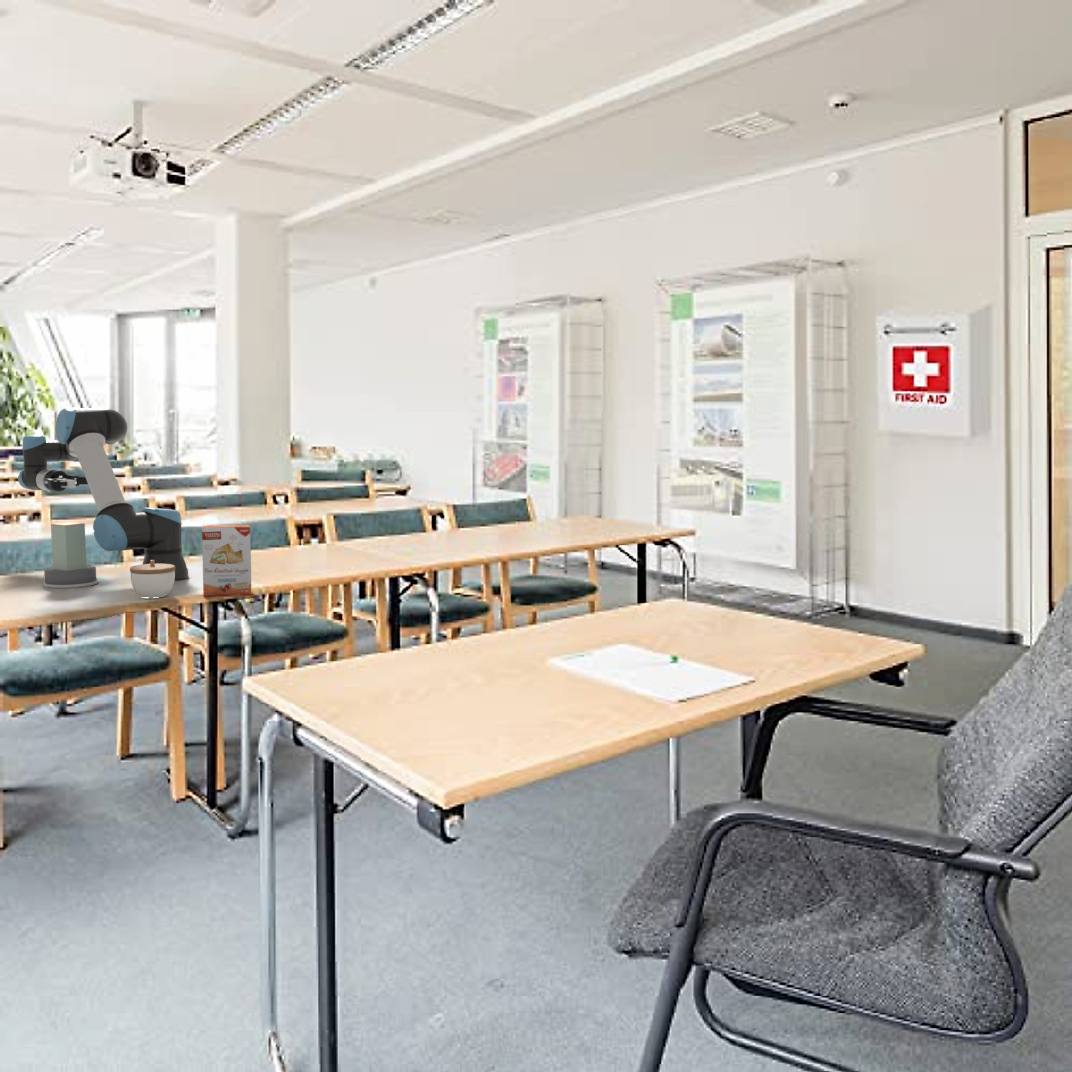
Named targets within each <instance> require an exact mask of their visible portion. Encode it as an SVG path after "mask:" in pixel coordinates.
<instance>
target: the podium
mask: <svg viewBox="0 0 1072 1072" xmlns="http://www.w3.org/2000/svg"><path fill="white" fill-rule="evenodd" d="M43 573H44V575H43V576H44V581H43V582H42V587H44V588H46V587H49V588H48V589H77V587H79V588H86V587H92V586H95V585H98V584H99V579H98V578H97V567H96V566H94V565H87V568H84V569H77V570H71V571H63V570H56V569H53V566H52V567H47V568H45V569H44V570H43Z"/></svg>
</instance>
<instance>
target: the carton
mask: <svg viewBox="0 0 1072 1072" xmlns="http://www.w3.org/2000/svg"><path fill="white" fill-rule="evenodd" d="M85 527H86V525H85V522H75V521H65V522H56V523H55V522H54V523H50V531H51V557H52V567H53V569H56V570H63V571H71V570H77V569H84V568H87V549H86V548H87V547H86V545H87V544H86V528H85Z"/></svg>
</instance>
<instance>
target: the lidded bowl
mask: <svg viewBox="0 0 1072 1072" xmlns="http://www.w3.org/2000/svg"><path fill="white" fill-rule="evenodd" d="M129 572H130V581H131V585H132V588H133V590H134V592H135V593H136V594H137V595H138V596H140V598H141V597H149V598H153V597H163V596H166V595H168V594H169V593H170V592H171V591H172V589H173V587H174V585H175V581H176V580H175V566H174V565H172V564H155V560H150V564H143V563H142V564H137V565H133V566H131V567H129ZM166 597H167V596H166Z"/></svg>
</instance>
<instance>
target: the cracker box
mask: <svg viewBox="0 0 1072 1072" xmlns="http://www.w3.org/2000/svg"><path fill="white" fill-rule="evenodd" d="M201 527H202V528H201V542H202V544H201V546H202V548H201V549H202V550H201V551H202V584H203V590H202V593H203V597H207V596H208V597H209V596H210V597H213V596H241V595H244V596H245V595H246V596H247V595H248V596H249V595H252V553H251V552H252V551H251V546H252V545H251V525H250V524H221V525H220V524H219V525H217V524H216V525H213V524H212V525H202V526H201Z"/></svg>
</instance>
